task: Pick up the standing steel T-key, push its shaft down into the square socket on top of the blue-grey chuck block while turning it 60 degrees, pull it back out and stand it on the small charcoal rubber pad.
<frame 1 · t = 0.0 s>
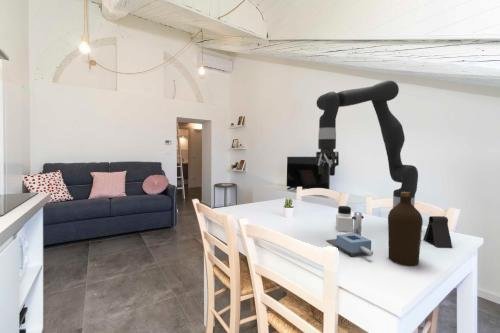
hand: (326, 174, 111), 29 cm above the table, tool pointing down, fingers open, 8 cm apart
olive oil: (403, 260, 90), on the table
medicine bottle: (343, 229, 126), on the table
chuck block: (353, 251, 98), on the table
black folding stand: (437, 244, 106), on the table
rubber pad: (338, 243, 106), on the table
chuck key: (357, 242, 108), on the table
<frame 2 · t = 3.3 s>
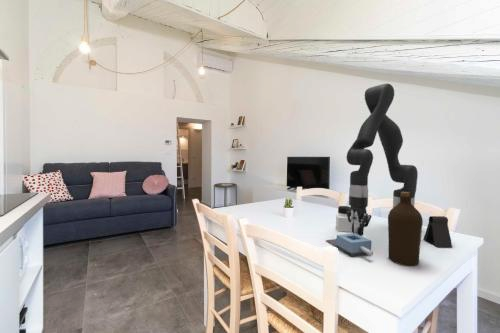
hand: (357, 234, 108), 4 cm above the table, tool pointing down, fingers closed on chuck key, 3 cm apart
chuck key: (357, 242, 108), on the table, touching gripper
everything else where it was.
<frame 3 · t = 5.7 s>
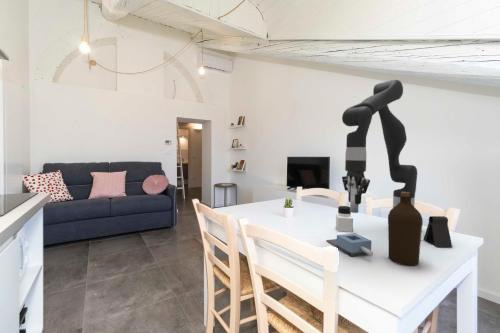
hand: (354, 202, 97), 19 cm above the table, tool pointing down, fingers closed on chuck key, 3 cm apart
chuck key: (354, 212, 97), point 16 cm above the table, touching gripper
everything else where it was.
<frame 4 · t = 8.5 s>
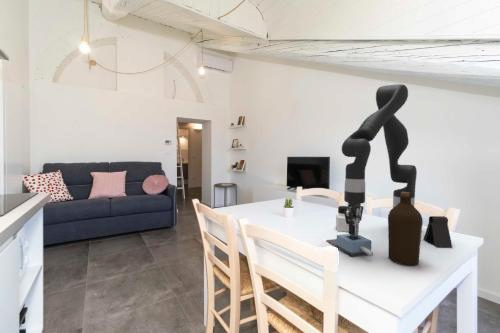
hand: (353, 233, 98), 7 cm above the table, tool pointing down, fingers closed on chuck key, 3 cm apart
chuck key: (354, 243, 98), point 3 cm above the table, touching gripper
everything else where it was.
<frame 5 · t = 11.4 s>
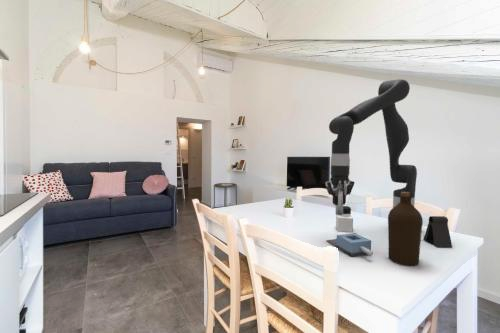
hand: (339, 204, 106), 17 cm above the table, tool pointing down, fingers closed on chuck key, 3 cm apart
chuck key: (339, 214, 105), point 13 cm above the table, touching gripper
everything else where it was.
when the fingers open (5 cm above the table, at t = 13.8 s): chuck key stays where it is, resting on rubber pad.
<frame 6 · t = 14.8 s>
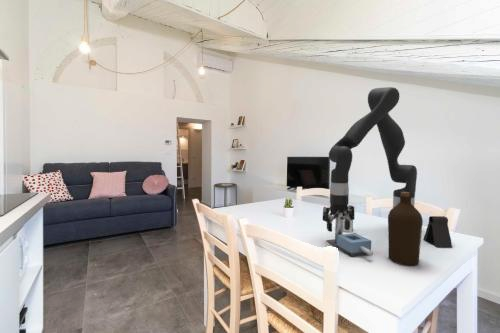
hand: (338, 230, 106), 6 cm above the table, tool pointing down, fingers open, 8 cm apart
chuck key: (338, 242, 106), point 1 cm above the table, touching rubber pad
everything else where it was.
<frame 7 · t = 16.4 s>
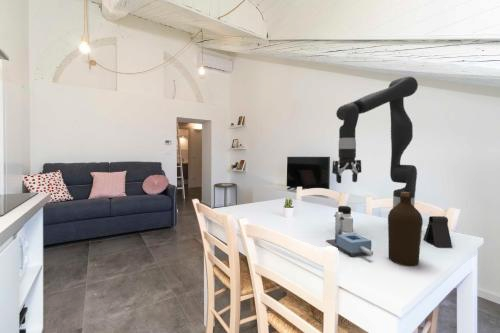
hand: (346, 182, 116), 25 cm above the table, tool pointing down, fingers open, 8 cm apart
nothing on the table moved.
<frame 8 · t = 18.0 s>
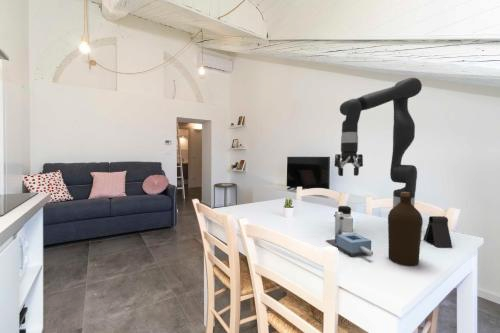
hand: (348, 175, 119), 28 cm above the table, tool pointing down, fingers open, 8 cm apart
nothing on the table moved.
at the end: chuck key inside the target area on the rubber pad (0.4 cm from its centre), point 0.6 cm above the rubber pad's base; the gripper is holding nothing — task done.
